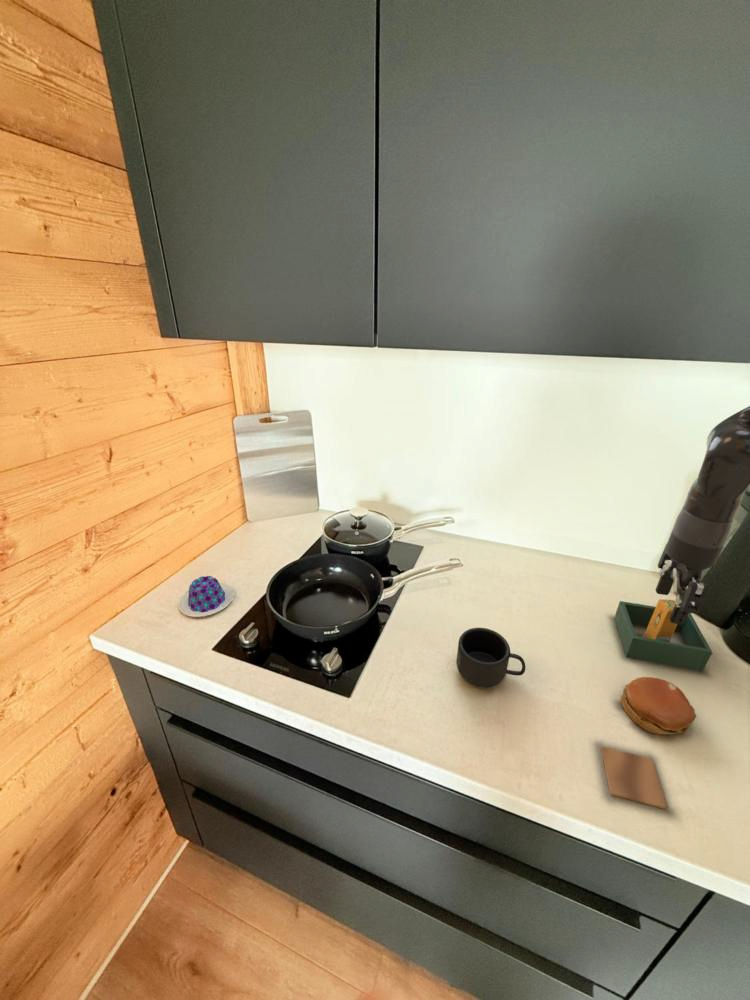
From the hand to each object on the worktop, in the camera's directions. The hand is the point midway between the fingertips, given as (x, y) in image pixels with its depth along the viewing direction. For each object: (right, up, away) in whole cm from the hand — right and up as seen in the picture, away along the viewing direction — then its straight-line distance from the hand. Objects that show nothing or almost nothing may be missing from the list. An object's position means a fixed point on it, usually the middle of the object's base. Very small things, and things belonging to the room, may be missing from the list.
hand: (668, 607), depth 81 cm
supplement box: (0, -9, +4) cm, 10 cm away
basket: (0, -8, +4) cm, 9 cm away
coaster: (-19, -20, -19) cm, 33 cm away
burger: (-9, -16, -9) cm, 20 cm away
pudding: (-95, -3, +16) cm, 96 cm away
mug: (-35, -12, -2) cm, 37 cm away
